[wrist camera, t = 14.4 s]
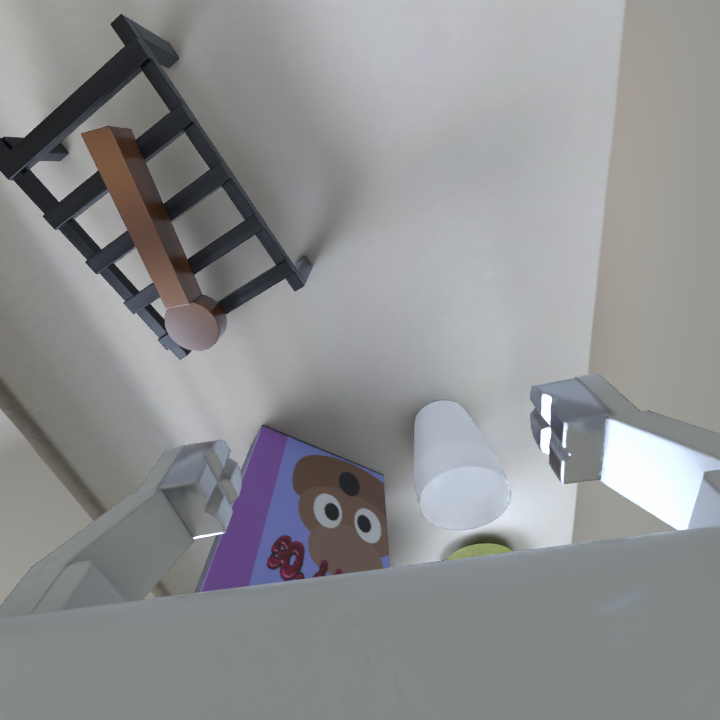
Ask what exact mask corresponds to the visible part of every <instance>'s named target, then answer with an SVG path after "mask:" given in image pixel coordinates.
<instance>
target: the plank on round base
mask: <svg viewBox="0 0 720 720" xmlns="http://www.w3.org/2000/svg"><path fill="white" fill-rule="evenodd" d="M81 135H82V137H83V139H84V142H85V144H86V146H87V148H88V150H89V152H90V154H91V156H92V158H93V160H94V162H95V164H96V166H97V168H98V170H99V172H100V174H101V176H102V178H103V180H104V183H105V185H106V187H107V189H108V191H109V193H110V195H111V197H112V199H113V201H114V203H115V205H116V207H117V209H118V211H119V213H120V215H121V217H122V219H123V221H124V223H125V226H126V228H127V230H128V232H129V234H130V236H131V238H132V240H133V242H134V244H135V246H136V248H137V250H138V252H139V254H140V256H141V258H142V260H143V262H144V264H145V266H146V269H147V271H148V273H149V275H150V277H151V279H152V281H153V283H154V285H155V287H156V289H157V291H158V293H159V295H160V297H161V299H162V301H163V303H164V305H165V307H166V309H168V310H167V312H166V315H165V328H166V330H167V333H168V334H169V336H170V337H171V339H172V340H173V341H174V342H176V343H177V344H178V345H180V346H181V347H183V348H186V349H188V350H193V351H202V350H206V349H209V348H210V347H212V346H213V345H214V344H215V343H216V342H217V341H218V339H219V338H220V337H221V336H222V334H223V333H224V331H225V329H226V325H227V319H226V315H225V312H224V310H223V309H222V307H221V306H220V305H219V304H218V303H217V302H216V301H215V300H214V299H212V298H210V297H208V296H206V295H202V292H201V290H200V288H199V285H198V283H197V281H196V278H195V276H194V274H193V271H192V269H191V267H190V264H189V262H188V260H187V257H186V255H185V253H184V250H183V248H182V246H181V244H180V241H179V239H178V237H177V234H176V232H175V230H174V227H173V225H172V223H171V220H170V218H169V216H168V213H167V211H166V209H165V206H164V204H163V202H162V199H161V197H160V195H159V192H158V190H157V188H156V185H155V183H154V181H153V179H152V176H151V174H150V172H149V169H148V167H147V165H146V162H145V160H144V158H143V155H142V153H141V151H140V148H139V146H138V144H137V141H136V139H135V137H134V134H133V132H132V130H131V129H128V128H120V127H112V126H107V127H103V128H99V129H95V130H92V131H88V132H84V133H81Z"/></svg>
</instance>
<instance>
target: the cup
mask: <svg viewBox="0 0 720 720" xmlns="http://www.w3.org/2000/svg"><path fill="white" fill-rule="evenodd" d="M414 485H415V489H416V492H417V496H418V500H419V505H420V509H421V511H422V513H423V515H424V516H425V517H426V518H427V519H428V520H429V521H430V522H432V523H433V524H435V525H437V526H439V527H442V528H446V529H452V530H467V529H473V528H477V527H481V526H483V525H486V524H488V523H490V522H492V521H493V520H495V519H496V518H498V517H499V516H500V515H501V514H502V513H503V512H504V511H505V510H506V508H507V507H508V505H509V502H510V499H511V489H510V486H509V483H508V481H507V478H506V475H505V473H504V469H503V466H502V463H501V461H500V460H499V458H498V456H497V455H496V453H495V452H494V450H493V449H492V447H491V446H490V444H489V443H488V442H487V440H486V439H485V437H484V436H483V434H482V433H481V432H480V430H479V429H478V427H477V426H476V424H475V423H474V421H473V420H472V419H471V417H470V416H469V414H468V413H467V411H466V410H465V409H464V408H463V407H462V406H461V405H460V404H458V403H456V402H453V401H448V400H441V401H435V402H432V403H430V404H428V405H426V406H425V407H423V408H422V409H421V410H420V411H419V412H418V414H417V416H416V418H415V424H414Z"/></svg>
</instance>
